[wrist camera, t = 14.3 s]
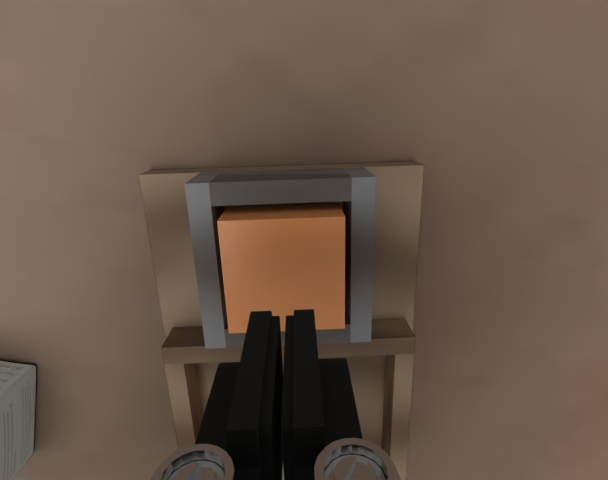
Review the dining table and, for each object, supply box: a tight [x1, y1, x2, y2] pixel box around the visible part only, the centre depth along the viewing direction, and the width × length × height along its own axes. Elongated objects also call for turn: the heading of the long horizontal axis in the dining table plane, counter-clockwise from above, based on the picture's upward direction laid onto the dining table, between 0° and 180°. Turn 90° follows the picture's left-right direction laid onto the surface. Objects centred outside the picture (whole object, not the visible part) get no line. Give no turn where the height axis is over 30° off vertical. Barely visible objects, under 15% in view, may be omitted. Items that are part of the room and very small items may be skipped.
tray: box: [139, 161, 424, 480], centre depth 22 cm, size 22×14×4 cm, turn 2°
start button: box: [217, 203, 345, 333], centre depth 18 cm, size 5×5×2 cm
